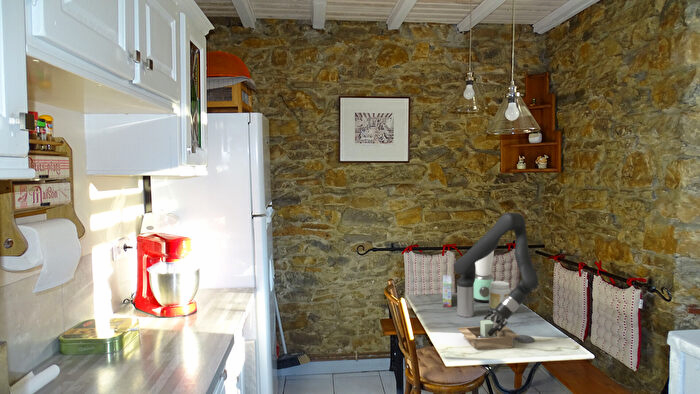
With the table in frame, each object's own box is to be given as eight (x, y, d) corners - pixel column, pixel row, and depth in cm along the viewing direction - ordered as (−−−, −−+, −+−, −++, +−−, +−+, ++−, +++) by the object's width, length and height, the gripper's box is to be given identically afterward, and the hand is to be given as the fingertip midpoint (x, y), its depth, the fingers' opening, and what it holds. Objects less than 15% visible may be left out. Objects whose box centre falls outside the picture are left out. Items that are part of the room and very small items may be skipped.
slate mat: (511, 336, 218) (511, 335, 218) (527, 335, 219) (527, 334, 219) (520, 343, 209) (520, 342, 209) (537, 342, 211) (537, 341, 211)
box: (480, 340, 214) (480, 320, 214) (490, 339, 215) (490, 319, 214) (484, 344, 209) (484, 324, 209) (494, 343, 210) (494, 323, 209)
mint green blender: (496, 304, 270) (496, 248, 268) (474, 304, 272) (474, 248, 270) (491, 295, 289) (491, 243, 286) (470, 295, 291) (470, 243, 288)
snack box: (452, 307, 266) (452, 283, 265) (442, 307, 267) (442, 283, 266) (451, 297, 287) (451, 275, 286) (442, 297, 288) (442, 274, 287)
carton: (457, 337, 218) (457, 327, 218) (503, 334, 221) (503, 324, 221) (469, 350, 203) (469, 339, 203) (519, 346, 206) (519, 336, 206)
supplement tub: (507, 308, 262) (507, 280, 261) (513, 314, 250) (513, 285, 249) (486, 308, 264) (487, 280, 263) (491, 314, 252) (491, 285, 251)
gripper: (495, 298, 219) (473, 321, 218) (509, 306, 205) (486, 332, 204) (505, 307, 220) (483, 331, 219) (519, 317, 206) (496, 342, 205)
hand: (485, 331), depth 212 cm, fingers open, 8 cm apart
